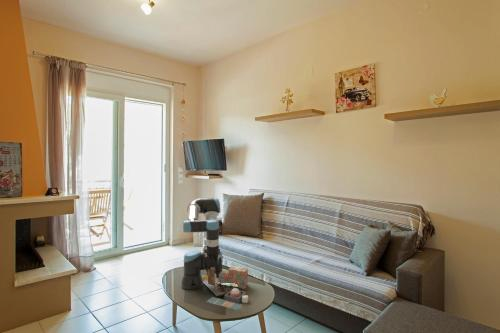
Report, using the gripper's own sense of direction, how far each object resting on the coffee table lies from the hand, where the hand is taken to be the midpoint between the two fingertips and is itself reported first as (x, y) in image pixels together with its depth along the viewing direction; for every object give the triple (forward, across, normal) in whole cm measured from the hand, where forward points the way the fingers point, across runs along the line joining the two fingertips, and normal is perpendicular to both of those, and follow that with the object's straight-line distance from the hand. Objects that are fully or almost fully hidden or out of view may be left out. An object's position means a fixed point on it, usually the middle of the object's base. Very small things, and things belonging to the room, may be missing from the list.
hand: (212, 281), depth 182 cm
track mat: (+12, +9, -1) cm, 15 cm away
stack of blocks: (+13, 0, +24) cm, 27 cm away
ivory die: (+12, +19, +7) cm, 23 cm away
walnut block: (+1, 0, 0) cm, 1 cm away
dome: (+11, +11, +8) cm, 18 cm away
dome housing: (+12, +11, +8) cm, 18 cm away
